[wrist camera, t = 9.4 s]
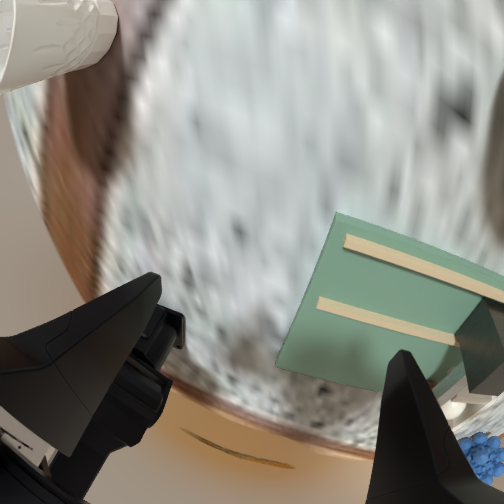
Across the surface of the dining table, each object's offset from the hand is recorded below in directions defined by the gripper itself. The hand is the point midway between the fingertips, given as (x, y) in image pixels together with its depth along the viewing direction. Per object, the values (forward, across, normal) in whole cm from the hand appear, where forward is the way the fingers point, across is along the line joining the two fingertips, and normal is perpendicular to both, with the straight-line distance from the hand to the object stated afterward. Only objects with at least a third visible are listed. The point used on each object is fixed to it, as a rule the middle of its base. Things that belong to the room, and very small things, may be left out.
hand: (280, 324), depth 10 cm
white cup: (+12, +20, -10) cm, 25 cm away
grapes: (+12, -44, +30) cm, 55 cm away
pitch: (+12, -15, +10) cm, 22 cm away
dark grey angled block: (+11, -18, +10) cm, 23 cm away
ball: (+9, -23, +16) cm, 29 cm away
